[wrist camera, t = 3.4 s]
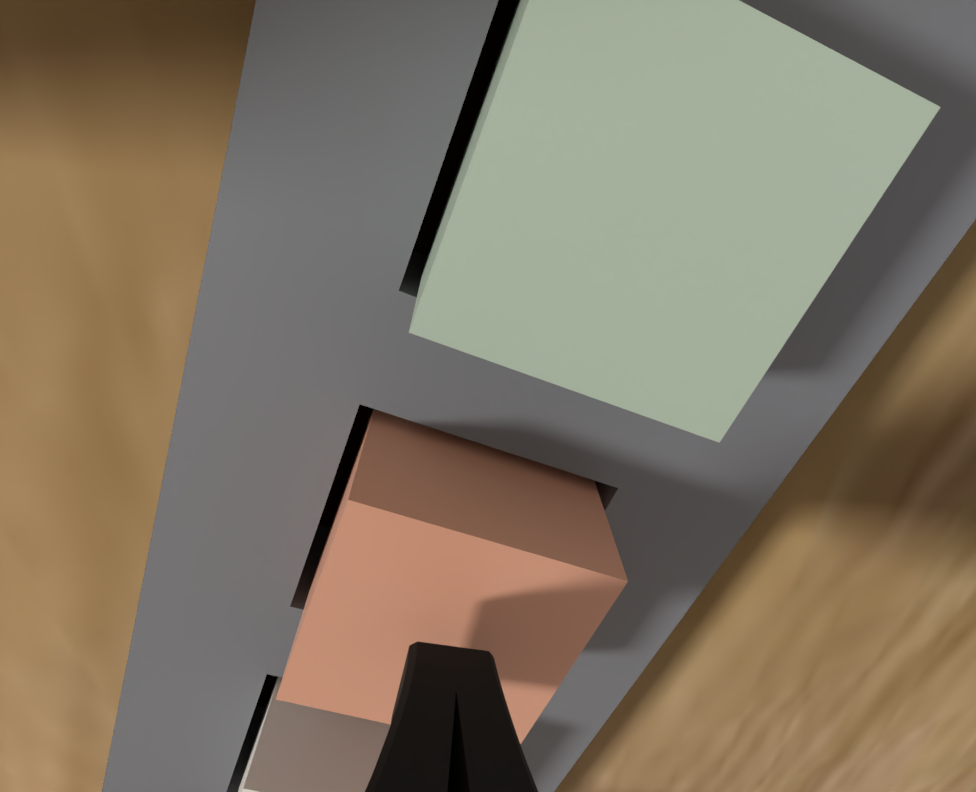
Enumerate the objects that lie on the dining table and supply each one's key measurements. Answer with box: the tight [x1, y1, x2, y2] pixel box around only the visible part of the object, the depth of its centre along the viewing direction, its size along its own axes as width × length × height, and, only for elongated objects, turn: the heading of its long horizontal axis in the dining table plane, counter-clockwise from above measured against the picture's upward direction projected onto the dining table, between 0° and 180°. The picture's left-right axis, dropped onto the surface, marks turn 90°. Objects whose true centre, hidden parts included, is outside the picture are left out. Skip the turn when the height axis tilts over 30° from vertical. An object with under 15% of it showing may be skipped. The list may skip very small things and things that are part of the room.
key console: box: [102, 0, 976, 792], centre depth 15 cm, size 12×26×3 cm, turn 158°
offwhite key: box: [238, 676, 391, 792], centre depth 16 cm, size 5×5×4 cm
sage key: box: [409, 0, 940, 443], centre depth 9 cm, size 5×5×4 cm
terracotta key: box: [276, 409, 628, 745], centre depth 13 cm, size 5×5×4 cm
